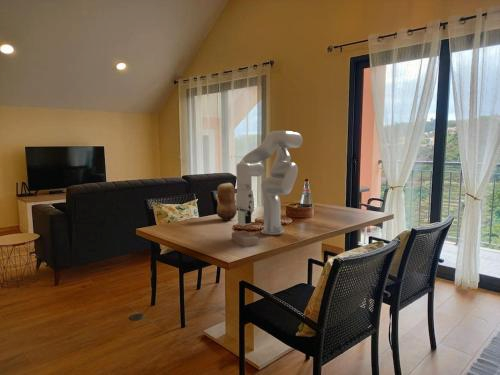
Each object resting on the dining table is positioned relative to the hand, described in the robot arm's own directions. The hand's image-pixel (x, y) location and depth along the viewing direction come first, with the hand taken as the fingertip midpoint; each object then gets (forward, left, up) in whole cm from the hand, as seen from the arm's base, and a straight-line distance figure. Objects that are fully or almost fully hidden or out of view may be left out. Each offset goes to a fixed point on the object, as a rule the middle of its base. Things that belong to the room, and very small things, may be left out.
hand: (244, 222), depth 192 cm
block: (0, 0, -1) cm, 1 cm away
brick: (0, 0, -11) cm, 11 cm away
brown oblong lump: (+54, -24, -11) cm, 60 cm away
